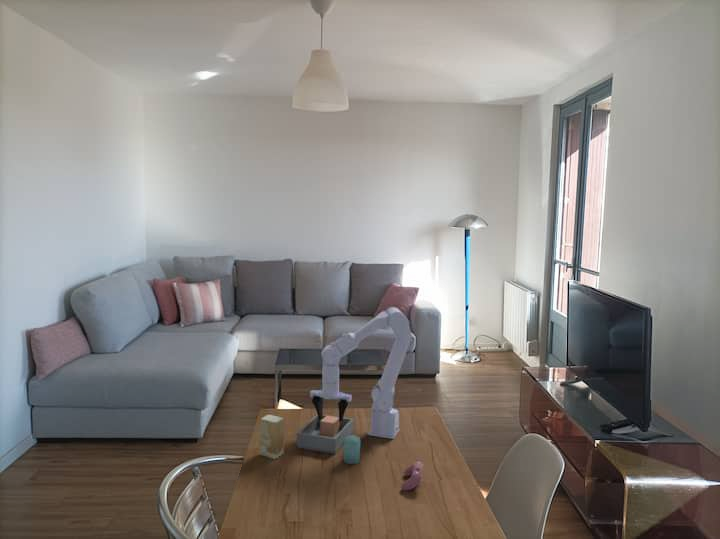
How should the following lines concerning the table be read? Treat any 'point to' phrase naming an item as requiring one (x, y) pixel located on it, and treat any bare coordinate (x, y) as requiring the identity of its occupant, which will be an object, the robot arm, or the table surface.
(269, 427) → the skincare box
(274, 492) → the table surface
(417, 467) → the pink curved lump
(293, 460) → the table surface
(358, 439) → the teal cylinder
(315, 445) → the tote
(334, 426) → the terracotta cube
